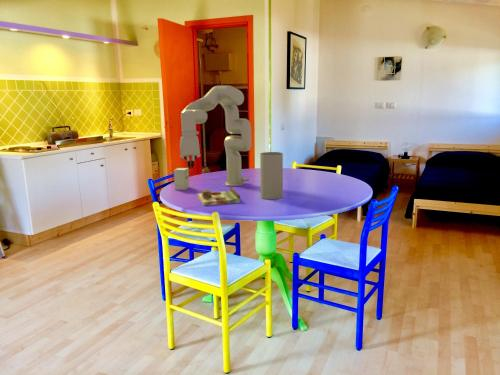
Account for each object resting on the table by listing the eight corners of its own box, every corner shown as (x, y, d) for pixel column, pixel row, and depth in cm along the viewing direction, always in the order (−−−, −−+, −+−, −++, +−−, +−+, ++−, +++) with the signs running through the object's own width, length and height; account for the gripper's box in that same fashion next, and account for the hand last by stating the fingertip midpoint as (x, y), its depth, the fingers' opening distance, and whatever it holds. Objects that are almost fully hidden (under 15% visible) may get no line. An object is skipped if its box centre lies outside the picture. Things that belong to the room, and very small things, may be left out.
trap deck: (231, 194, 244) (231, 187, 243) (240, 202, 226) (239, 195, 225) (197, 197, 239) (197, 190, 238) (203, 205, 220) (203, 198, 219)
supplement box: (185, 190, 257) (184, 170, 254) (174, 189, 258) (173, 169, 255) (189, 187, 264) (188, 167, 261) (178, 187, 265) (177, 167, 262)
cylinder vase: (268, 193, 244) (268, 151, 238) (286, 196, 237) (286, 152, 231) (256, 198, 234) (255, 154, 228) (275, 201, 227) (275, 155, 221)
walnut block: (210, 195, 233) (209, 189, 232) (211, 197, 229) (211, 191, 228) (202, 196, 232) (201, 190, 231) (203, 198, 227) (203, 192, 227)
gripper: (202, 132, 225) (203, 166, 230) (173, 134, 221) (176, 167, 226) (204, 134, 218) (205, 168, 223) (175, 135, 214) (177, 170, 219)
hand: (190, 167), depth 224 cm, fingers closed
